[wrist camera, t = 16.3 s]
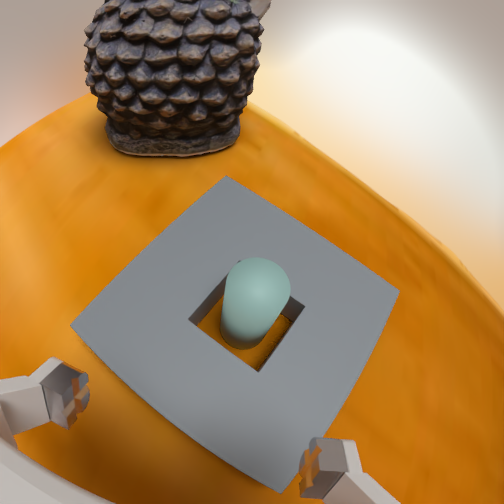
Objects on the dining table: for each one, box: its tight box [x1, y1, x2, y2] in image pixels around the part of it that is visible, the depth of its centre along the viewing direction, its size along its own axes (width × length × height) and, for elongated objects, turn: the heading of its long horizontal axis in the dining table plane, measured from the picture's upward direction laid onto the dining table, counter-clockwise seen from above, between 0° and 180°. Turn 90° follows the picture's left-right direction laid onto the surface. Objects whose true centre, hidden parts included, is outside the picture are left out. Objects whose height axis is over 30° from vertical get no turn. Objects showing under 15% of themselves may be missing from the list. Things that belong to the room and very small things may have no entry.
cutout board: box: [70, 176, 400, 494], centre depth 25 cm, size 20×20×4 cm
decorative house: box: [84, 0, 271, 157], centre depth 28 cm, size 21×15×25 cm
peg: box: [220, 257, 291, 350], centre depth 23 cm, size 4×4×9 cm
